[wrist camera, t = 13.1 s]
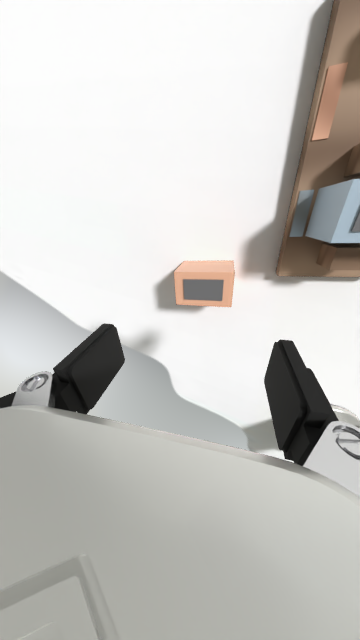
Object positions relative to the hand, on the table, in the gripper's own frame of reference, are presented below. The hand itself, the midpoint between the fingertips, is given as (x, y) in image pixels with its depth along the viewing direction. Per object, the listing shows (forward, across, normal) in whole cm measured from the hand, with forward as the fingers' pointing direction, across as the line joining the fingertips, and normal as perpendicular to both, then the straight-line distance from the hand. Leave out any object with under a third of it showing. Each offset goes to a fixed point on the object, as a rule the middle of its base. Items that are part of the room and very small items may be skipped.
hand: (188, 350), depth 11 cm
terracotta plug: (+16, 0, 0) cm, 17 cm away
